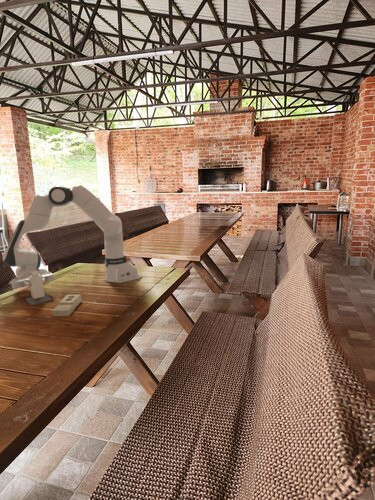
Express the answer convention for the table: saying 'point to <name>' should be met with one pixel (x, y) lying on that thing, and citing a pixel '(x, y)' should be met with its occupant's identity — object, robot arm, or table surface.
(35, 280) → the tapered lotion bottle
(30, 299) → the peg stand
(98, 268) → the table surface
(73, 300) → the electrical outlet
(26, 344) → the table surface
